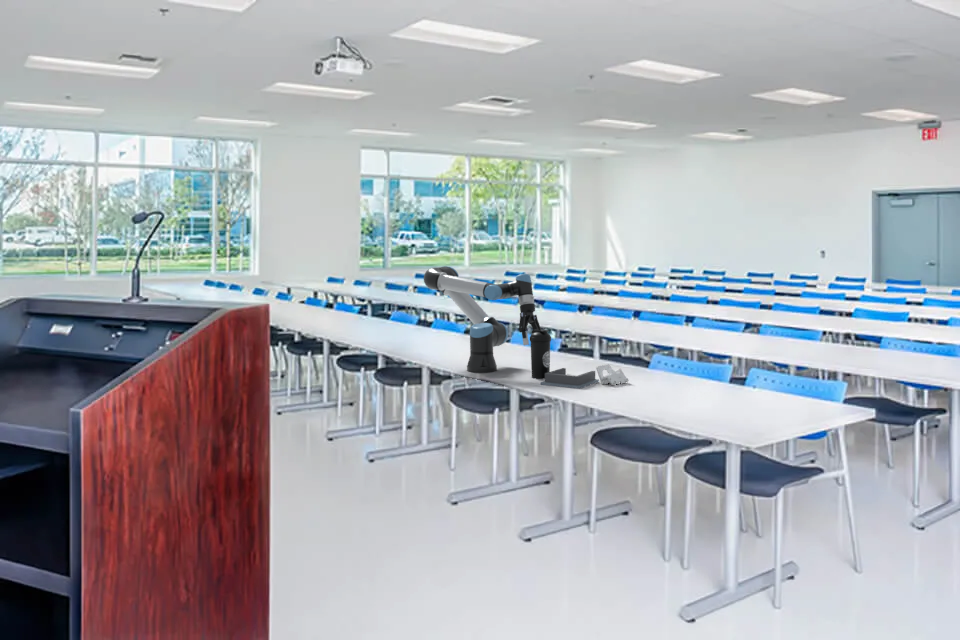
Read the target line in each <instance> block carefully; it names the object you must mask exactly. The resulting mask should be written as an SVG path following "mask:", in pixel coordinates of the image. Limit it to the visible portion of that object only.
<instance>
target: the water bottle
mask: <svg viewBox="0 0 960 640" xmlns="http://www.w3.org/2000/svg"><path fill="white" fill-rule="evenodd" d="M549 331H550V330H549V329H543V330H542V329H541V331H539V330H538V329H535V330H533V329H532V330H531V334H530V336H529V342H530V362H531V363H530V364H531V379H534V378H536V379H535V380H545V373H548V372H551V371H550V370H551V369H550V367H551V366H550V365H551V341H552V336H551V334H550V333H549Z"/></svg>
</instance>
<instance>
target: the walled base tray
mask: <svg viewBox="0 0 960 640" xmlns="http://www.w3.org/2000/svg"><path fill="white" fill-rule="evenodd" d="M566 369H567V368H566V367H562V368H559V369H555V370H553V371H550V372H548V373H545V379H544V381H543V380H542V381H540V382H539V383H540V385H541V386H542V385H543V386H549V387H550V386H553V387H560V388H570V389H583V388H585V386H586V387H588V386H591V385H594V384H596V382H597V383H599V382H600V378H598V379H597V378H596V370H591V371H587V372H584V373H582V374H579V375H571V374H566V373H567V370H566ZM598 381H599V382H598ZM593 383H594V384H593ZM590 384H591V385H590Z"/></svg>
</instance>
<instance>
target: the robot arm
mask: <svg viewBox="0 0 960 640" xmlns="http://www.w3.org/2000/svg"><path fill="white" fill-rule="evenodd" d="M423 283H424V284H425V286H426V287H427V288H428V289H430V290H436V291H439V292H441V293H442V294H443V295H444V296H447V297H449V298H450V299H451V301H453V302H454V303H455V305H457V307H458V308H459V309H460V310H461V311H462V313H463V314H464V315H465V316H466V317H467V318H468V319H469V320H470V322H471V323H472V324H473V325H471V326H470V328H469V346H470V347H469V350H470V351H469V352H470V353H469V354H470V355H469V359H468V362H467V365H466V370H467V371H468V372H471V373H490V372H491V373H492V372H495V371H497V370H498V369H497V368H498V367H497V366H498V365H497V362H496V359H495V356H494V348H495V347H500V346H502V345H503V344H505V343H506V341H508V338H509V330H508V327H507V326H506V325H505V324H504V323H502V322H498V320H497V319H496V318H495V317H493V316H490V315H488V314H487V313H486V311H484V309H483V308H482V307H481V306H480V305H479V304H478V302H476V300H475V299H474V298H473V297H472V296H477V297H483V298H486V299H488V300H491V301H497V300H506V299H509V298H512V297H515V296H516V297H517V296H518V304H519V310H520V313H519V322H518V323H519V324H518V331H519V333H521V336H522V337H521V338H522V343H523V344H522V345H523V346H527V345H530V343H529V342H530V340H529V335H528V330H527V329H528V325H530V326H531V328H532V330H535V329H538V330H539V331H541V330H542V328H541V326H540V323H539V320H538V316H537V314H534V312H535V311H536V307H535V306H536V305H535V301H534V300H535V299H534V298H535V296H534V292H533V284H532V283H533V282H532V279H531V275H530V274H528V273H522V274H521V273H520V274H518V275H516V276H515V280H513V281H509V282H505V283H504V282H503V283H491V282H486V281H482V280H481V281H480V280H477V279H470V278H466V277H460V276H459V273H458V271H457V270H456V269H455V268H453V267H451V266H447V265H445V266H439V267H438V266H435V267H430V268H428V270H426V272H425V273H424V275H423Z"/></svg>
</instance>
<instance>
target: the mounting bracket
mask: <svg viewBox="0 0 960 640" xmlns="http://www.w3.org/2000/svg"><path fill="white" fill-rule="evenodd" d="M595 368H596V369H595V370H596V372H597V374H598V379H599V382H600V384H601V385H602V384H604V385H608V383H609V384H610V385H611V386H612V385H615V386H617V385H616V384H620V383H625V384H627V383H628V382H629V378H628V377H627V376H626V375H625V373H624V372H623V370H622V369H621V368H618V369H615V370H614V369H613V367H612V366H611V364H609V363H608V364H604V365H603V364H602V365H597V366H596V367H595ZM604 371H606V372H607V375H604ZM626 382H627V383H626ZM620 385H621V384H620Z"/></svg>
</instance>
